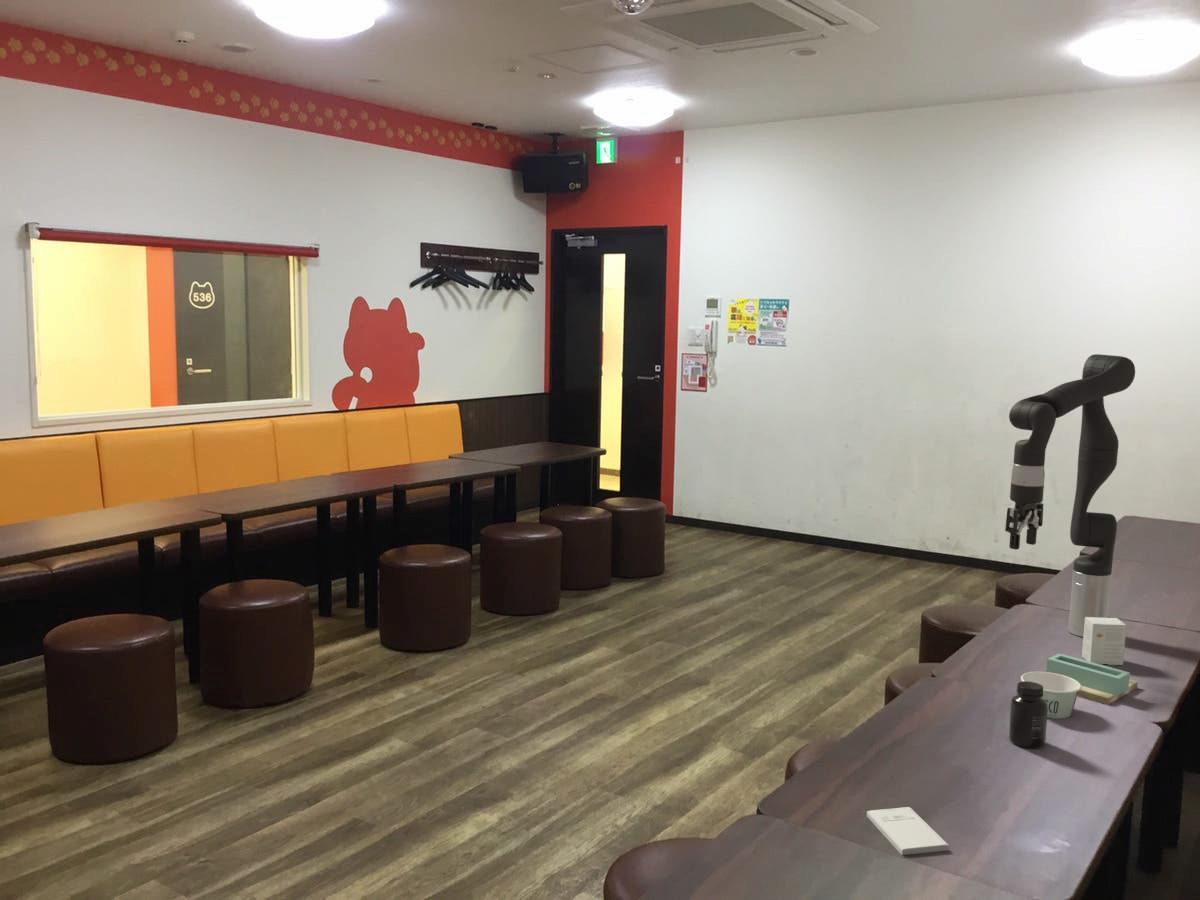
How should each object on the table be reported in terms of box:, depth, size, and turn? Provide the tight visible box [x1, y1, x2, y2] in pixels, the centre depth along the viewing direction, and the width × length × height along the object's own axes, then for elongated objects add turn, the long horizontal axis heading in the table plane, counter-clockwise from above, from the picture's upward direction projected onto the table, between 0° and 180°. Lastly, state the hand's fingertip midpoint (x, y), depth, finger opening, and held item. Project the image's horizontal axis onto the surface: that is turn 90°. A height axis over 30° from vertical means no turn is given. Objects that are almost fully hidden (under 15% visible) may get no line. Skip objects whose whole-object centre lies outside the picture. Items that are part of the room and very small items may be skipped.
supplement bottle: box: [1008, 680, 1048, 750], centre depth 197 cm, size 7×7×12 cm
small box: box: [1081, 617, 1127, 666], centre depth 245 cm, size 8×6×10 cm
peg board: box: [1077, 678, 1139, 706], centre depth 228 cm, size 16×15×4 cm
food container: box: [1020, 671, 1081, 719], centre depth 214 cm, size 12×12×6 cm
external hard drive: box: [866, 806, 950, 856], centre depth 163 cm, size 2×8×12 cm
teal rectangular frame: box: [1045, 653, 1131, 696], centre depth 227 cm, size 16×6×4 cm, turn 40°
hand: (1022, 546), depth 245 cm, fingers open, 8 cm apart
